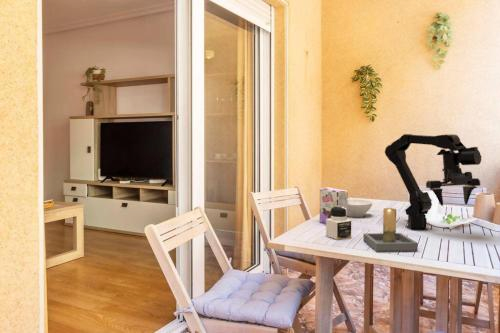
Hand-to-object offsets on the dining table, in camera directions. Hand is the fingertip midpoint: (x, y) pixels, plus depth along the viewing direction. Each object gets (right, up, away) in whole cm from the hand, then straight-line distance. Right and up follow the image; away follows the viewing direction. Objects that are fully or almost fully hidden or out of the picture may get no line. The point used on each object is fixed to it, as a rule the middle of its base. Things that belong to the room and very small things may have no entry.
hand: (454, 205), depth 155 cm
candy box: (-43, -11, +23) cm, 50 cm away
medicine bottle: (-46, -13, +1) cm, 48 cm away
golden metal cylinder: (-30, -13, -13) cm, 35 cm away
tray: (-30, -14, -13) cm, 36 cm away
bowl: (-28, -10, +42) cm, 52 cm away
